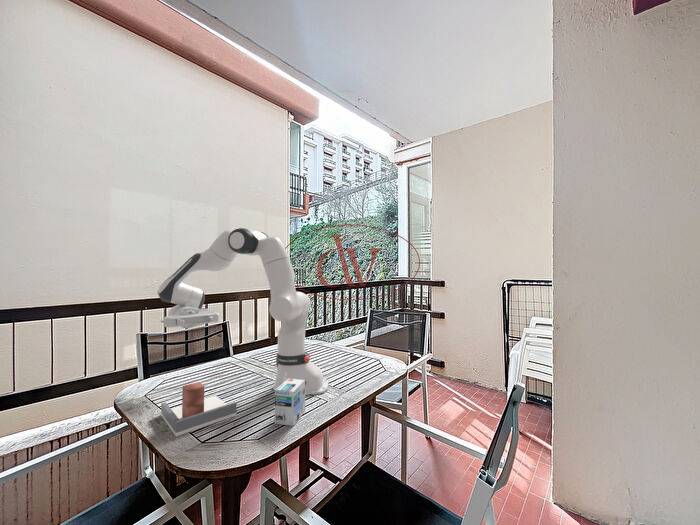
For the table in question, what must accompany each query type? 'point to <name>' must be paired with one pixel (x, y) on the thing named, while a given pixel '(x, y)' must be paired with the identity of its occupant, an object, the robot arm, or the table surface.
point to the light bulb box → (289, 402)
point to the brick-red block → (192, 399)
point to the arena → (197, 415)
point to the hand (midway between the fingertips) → (198, 321)
